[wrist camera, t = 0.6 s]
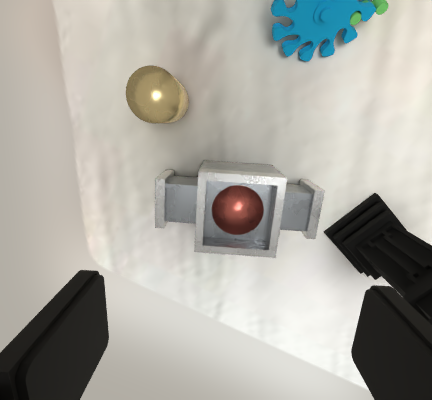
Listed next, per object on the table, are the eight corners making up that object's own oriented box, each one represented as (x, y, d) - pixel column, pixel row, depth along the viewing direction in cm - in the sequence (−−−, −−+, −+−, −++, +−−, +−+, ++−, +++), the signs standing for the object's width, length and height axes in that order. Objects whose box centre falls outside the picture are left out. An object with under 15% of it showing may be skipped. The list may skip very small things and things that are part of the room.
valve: (166, 157, 33) (149, 168, 26) (309, 167, 33) (335, 181, 26) (165, 221, 36) (150, 248, 28) (298, 230, 36) (319, 260, 28)
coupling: (146, 76, 31) (125, 63, 24) (189, 79, 31) (180, 67, 24) (146, 121, 32) (126, 121, 25) (187, 124, 32) (178, 124, 25)
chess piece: (408, 235, 36) (626, 369, 16) (357, 270, 37) (502, 429, 18) (374, 192, 34) (572, 285, 15) (323, 231, 36) (441, 360, 16)
